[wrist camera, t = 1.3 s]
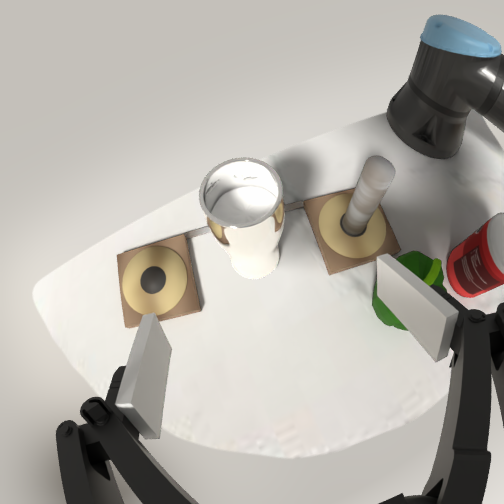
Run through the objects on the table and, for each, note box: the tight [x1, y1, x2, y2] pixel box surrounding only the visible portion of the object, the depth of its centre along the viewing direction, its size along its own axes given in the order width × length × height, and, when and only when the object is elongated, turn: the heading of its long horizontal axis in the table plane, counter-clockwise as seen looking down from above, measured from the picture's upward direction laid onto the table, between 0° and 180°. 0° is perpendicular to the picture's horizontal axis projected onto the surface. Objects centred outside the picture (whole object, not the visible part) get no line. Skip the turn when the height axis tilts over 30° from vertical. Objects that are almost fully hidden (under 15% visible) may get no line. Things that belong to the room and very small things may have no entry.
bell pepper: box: [372, 251, 447, 331], centre depth 28 cm, size 8×8×10 cm
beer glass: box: [199, 158, 285, 279], centre depth 29 cm, size 7×7×15 cm
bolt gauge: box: [117, 156, 401, 328], centre depth 30 cm, size 36×11×13 cm, turn 105°
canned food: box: [447, 213, 504, 298], centre depth 27 cm, size 8×8×11 cm
